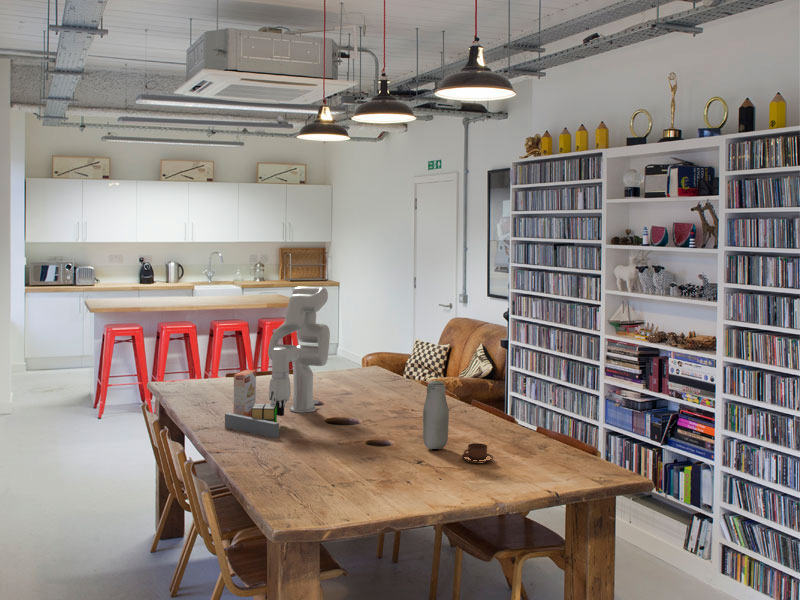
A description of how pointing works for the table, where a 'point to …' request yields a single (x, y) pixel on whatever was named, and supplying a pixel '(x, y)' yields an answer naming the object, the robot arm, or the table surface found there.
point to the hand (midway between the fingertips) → (280, 415)
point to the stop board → (252, 425)
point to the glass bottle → (435, 416)
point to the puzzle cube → (265, 412)
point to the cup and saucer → (476, 452)
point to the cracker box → (244, 392)
